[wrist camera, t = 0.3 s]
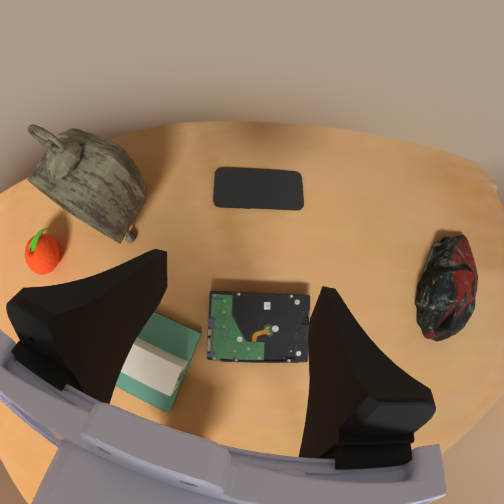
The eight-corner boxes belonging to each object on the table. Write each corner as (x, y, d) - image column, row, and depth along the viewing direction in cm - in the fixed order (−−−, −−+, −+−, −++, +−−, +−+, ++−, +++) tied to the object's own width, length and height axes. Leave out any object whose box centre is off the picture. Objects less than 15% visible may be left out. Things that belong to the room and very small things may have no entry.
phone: (304, 210, 45) (212, 206, 43) (303, 212, 45) (212, 208, 44) (301, 171, 46) (215, 166, 45) (300, 174, 47) (215, 169, 46)
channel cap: (177, 387, 36) (170, 396, 31) (127, 363, 36) (115, 368, 31) (187, 361, 37) (181, 367, 32) (137, 337, 37) (125, 339, 32)
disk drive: (305, 294, 42) (209, 291, 41) (310, 293, 40) (208, 290, 38) (303, 359, 40) (207, 359, 39) (309, 362, 37) (206, 362, 36)
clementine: (50, 229, 40) (29, 217, 33) (74, 241, 40) (52, 229, 33) (35, 269, 38) (12, 261, 32) (58, 283, 38) (35, 276, 32)
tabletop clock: (76, 218, 41) (-11, 147, 17) (102, 176, 43) (36, 86, 19) (135, 254, 41) (46, 184, 17) (163, 206, 43) (109, 101, 19)
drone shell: (421, 352, 41) (449, 355, 33) (397, 253, 45) (423, 242, 37) (480, 312, 44) (504, 309, 36) (460, 231, 48) (483, 220, 40)
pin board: (170, 410, 36) (165, 419, 32) (72, 356, 36) (60, 358, 32) (201, 333, 39) (198, 335, 35) (97, 282, 39) (86, 278, 35)
